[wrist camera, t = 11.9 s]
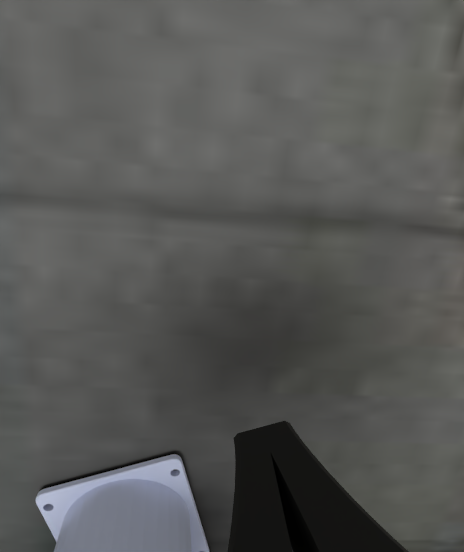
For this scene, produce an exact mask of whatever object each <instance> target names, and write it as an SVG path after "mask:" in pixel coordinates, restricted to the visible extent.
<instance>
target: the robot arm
mask: <svg viewBox="0 0 464 552" xmlns="http://www.w3.org/2000/svg"><path fill="white" fill-rule="evenodd" d="M234 444H235V457H236V473H235V492H234V504H233V515H232V525H231V533H230V540H229V547H228V552H408V551H407V550H406V549H405V548H404V547H403V546H402V545H400V544H399V543H398V542H397V541H396V540H395V539H394V538H393V537H392V536H391V535H390V534H389V533H388V532H386V531H385V530H384V529H383V528H382V527H381V526H380V525H379V524H378V523H377V522H376V521H375V520H374V519H373V518H372V517H371V516H370V515H369V514H368V513H367V512H366V511H365V510H364V509H363V508H362V507H361V506H360V505H359V504H358V503H357V502H356V501H355V500H354V499H353V498H352V497H351V496H350V495H349V494H348V493H347V492H346V491H345V490H344V488H343V487H342V486H341V485H340V484H339V483H338V482H337V481H336V480H335V479H334V478H333V477H332V476H331V475H330V473H329V472H328V471H327V470H326V469H325V468H324V467H323V466H322V464H321V463H320V462H319V461H318V460H317V458H316V457H315V456H314V455H313V454H312V453H311V451H310V450H309V449H308V448H307V446H306V445H305V444H304V443H303V441H302V440H301V439H300V437H299V436H298V435H297V433H296V432H295V431H294V429H293V428H292V426H291V425H290V423H288V422H286V421H282V422H278V423H275V424H271V425H267V426H264V427H260V428H256V429H253V430H249V431H245V432H241V433H238V434H237V435H236V436H235V437H234ZM174 469H177V470H176V471H173V470H174ZM35 501H36V504H37V506H38V508H39V510H40V511H41V513H42V515H43V517H44V519H45V521H46V523H47V525H48V527H49V529H50V531H51V532H52V534H53V536H54V538H55V540H56V542H57V543H56V546H55V550H54V552H210V550H209V547H208V544H207V540H206V537H205V534H204V530H203V527H202V524H201V521H200V517H199V514H198V511H197V507H196V504H195V501H194V498H193V494H192V491H191V488H190V484H189V481H188V478H187V475H186V471H185V468H184V465H183V461H182V459H181V457H180V456H179V455H176V454H172V455H168V456H164V457H160V458H157V459H153V460H149V461H146V462H142V463H138V464H134V465H131V466H127V467H123V468H119V469H116V470H112V471H108V472H105V473H101V474H97V475H93V476H90V477H86V478H82V479H79V480H75V481H71V482H67V483H64V484H60V485H56V486H52V487H49V488H45V489H42V490H40V491H39V492H38V495H37V497H36V500H35ZM292 550H293V551H292Z"/></svg>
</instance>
